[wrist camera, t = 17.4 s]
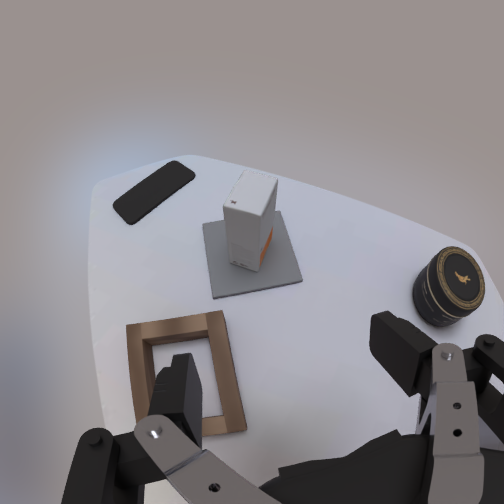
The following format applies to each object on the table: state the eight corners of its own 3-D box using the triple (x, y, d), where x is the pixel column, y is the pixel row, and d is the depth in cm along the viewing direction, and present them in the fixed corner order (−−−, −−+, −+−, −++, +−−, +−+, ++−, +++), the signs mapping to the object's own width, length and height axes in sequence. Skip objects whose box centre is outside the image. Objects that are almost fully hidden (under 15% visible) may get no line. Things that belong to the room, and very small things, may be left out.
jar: (464, 323, 33) (494, 305, 26) (418, 335, 33) (448, 317, 26) (447, 267, 38) (472, 243, 31) (402, 272, 38) (425, 246, 31)
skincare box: (258, 273, 37) (260, 217, 27) (229, 263, 38) (220, 205, 28) (273, 238, 40) (279, 177, 30) (245, 229, 41) (243, 168, 31)
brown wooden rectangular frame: (225, 319, 35) (222, 310, 32) (247, 427, 27) (246, 429, 24) (136, 332, 33) (126, 324, 30) (150, 436, 26) (139, 439, 23)
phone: (198, 174, 48) (129, 225, 42) (198, 177, 48) (131, 228, 42) (173, 158, 50) (110, 204, 44) (174, 161, 51) (111, 207, 45)
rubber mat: (279, 213, 43) (279, 210, 43) (302, 281, 37) (302, 279, 37) (203, 226, 42) (202, 223, 42) (213, 299, 36) (213, 297, 35)
